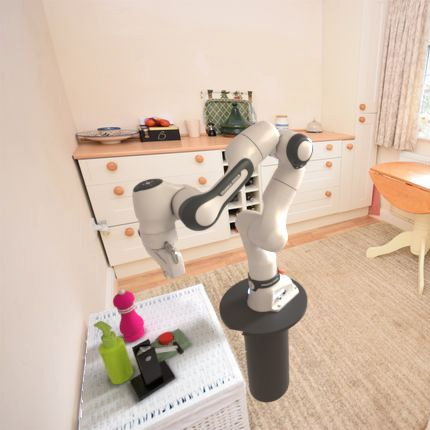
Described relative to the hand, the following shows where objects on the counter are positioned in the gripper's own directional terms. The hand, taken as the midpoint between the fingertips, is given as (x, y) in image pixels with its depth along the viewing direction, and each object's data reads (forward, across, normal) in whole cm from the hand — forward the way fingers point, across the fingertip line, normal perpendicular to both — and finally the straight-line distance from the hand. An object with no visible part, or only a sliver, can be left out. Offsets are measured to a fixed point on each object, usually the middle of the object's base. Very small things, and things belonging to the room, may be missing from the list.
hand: (168, 276), depth 88 cm
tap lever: (+20, -6, +9) cm, 23 cm away
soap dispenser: (+29, +3, +18) cm, 34 cm away
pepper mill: (+29, +17, +10) cm, 35 cm away
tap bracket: (+29, -6, +12) cm, 32 cm away
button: (+26, +3, +4) cm, 26 cm away
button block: (+29, +3, +4) cm, 30 cm away
